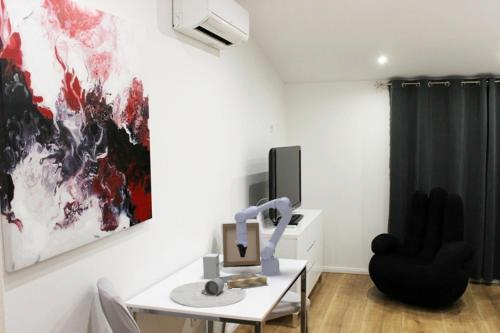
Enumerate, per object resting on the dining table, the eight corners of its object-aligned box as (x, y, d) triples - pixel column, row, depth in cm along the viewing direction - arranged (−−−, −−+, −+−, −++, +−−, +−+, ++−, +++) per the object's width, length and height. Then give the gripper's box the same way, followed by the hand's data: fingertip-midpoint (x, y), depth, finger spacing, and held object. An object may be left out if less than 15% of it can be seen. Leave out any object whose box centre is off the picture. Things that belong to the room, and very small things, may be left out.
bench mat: (253, 273, 266) (253, 272, 266) (268, 286, 241) (268, 285, 241) (218, 278, 260) (218, 277, 260) (230, 291, 235) (230, 290, 235)
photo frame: (260, 266, 282) (258, 224, 280) (223, 267, 283) (221, 225, 281) (260, 259, 296) (259, 220, 295) (225, 261, 297) (224, 221, 296)
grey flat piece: (251, 278, 255) (251, 272, 255) (256, 282, 247) (255, 276, 247) (229, 281, 251) (229, 275, 251) (233, 285, 244) (233, 279, 244)
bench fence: (263, 281, 249) (263, 273, 248) (266, 284, 243) (266, 276, 243) (226, 286, 243) (226, 278, 242) (229, 289, 238) (228, 281, 237)
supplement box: (216, 280, 257) (215, 256, 256) (203, 279, 258) (202, 256, 257) (220, 276, 264) (219, 253, 263) (207, 275, 265) (206, 253, 265)
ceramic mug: (225, 291, 236) (224, 276, 235) (219, 296, 228) (218, 281, 227) (205, 290, 239) (204, 275, 239) (198, 295, 231) (197, 280, 231)
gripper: (231, 231, 271) (232, 255, 271) (238, 236, 257) (239, 260, 258) (243, 230, 273) (244, 253, 274) (250, 234, 259) (251, 259, 260)
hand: (242, 257), depth 266 cm, fingers closed
